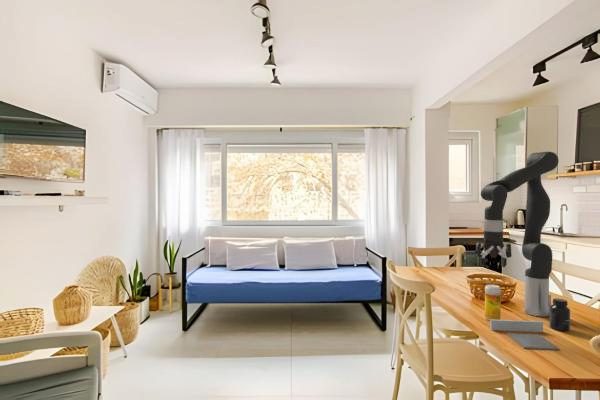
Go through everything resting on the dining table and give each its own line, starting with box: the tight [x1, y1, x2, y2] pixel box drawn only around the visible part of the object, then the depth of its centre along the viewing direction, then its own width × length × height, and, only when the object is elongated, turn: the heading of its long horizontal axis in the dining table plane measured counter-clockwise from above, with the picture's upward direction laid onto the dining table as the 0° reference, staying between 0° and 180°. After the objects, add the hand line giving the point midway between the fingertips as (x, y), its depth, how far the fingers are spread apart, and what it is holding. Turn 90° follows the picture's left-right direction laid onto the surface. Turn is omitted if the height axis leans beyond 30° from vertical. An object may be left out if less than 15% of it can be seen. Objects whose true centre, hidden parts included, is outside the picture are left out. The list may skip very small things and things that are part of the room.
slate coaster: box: [506, 332, 560, 351], centre depth 129 cm, size 12×12×1 cm
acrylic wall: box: [489, 319, 544, 333], centre depth 139 cm, size 20×1×4 cm, turn 84°
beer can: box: [484, 283, 502, 322], centre depth 152 cm, size 6×6×15 cm
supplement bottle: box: [549, 298, 571, 332], centre depth 142 cm, size 7×7×12 cm
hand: (493, 266), depth 152 cm, fingers open, 8 cm apart
